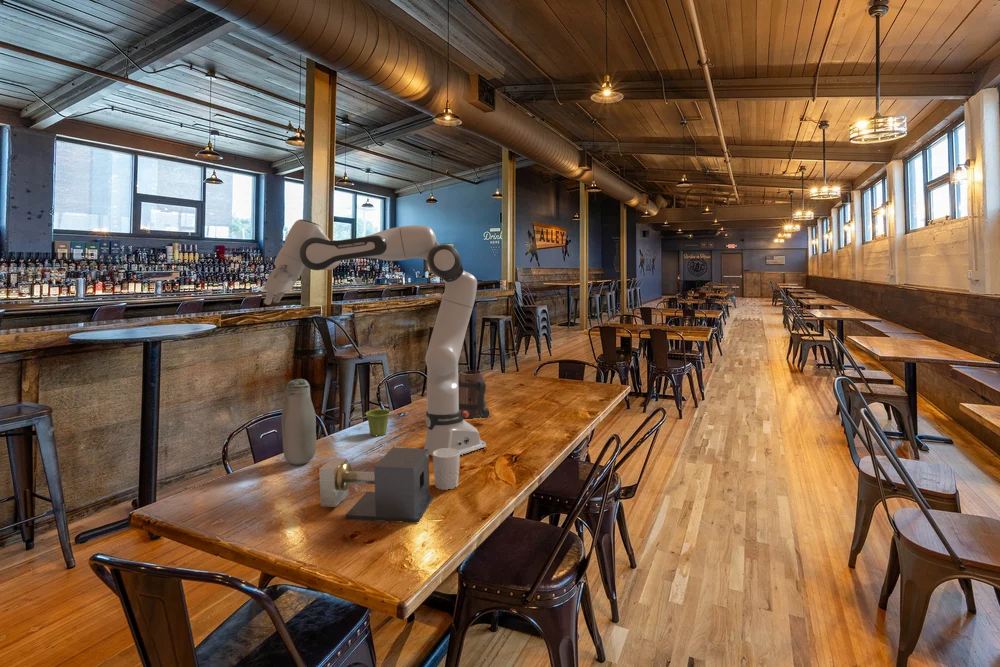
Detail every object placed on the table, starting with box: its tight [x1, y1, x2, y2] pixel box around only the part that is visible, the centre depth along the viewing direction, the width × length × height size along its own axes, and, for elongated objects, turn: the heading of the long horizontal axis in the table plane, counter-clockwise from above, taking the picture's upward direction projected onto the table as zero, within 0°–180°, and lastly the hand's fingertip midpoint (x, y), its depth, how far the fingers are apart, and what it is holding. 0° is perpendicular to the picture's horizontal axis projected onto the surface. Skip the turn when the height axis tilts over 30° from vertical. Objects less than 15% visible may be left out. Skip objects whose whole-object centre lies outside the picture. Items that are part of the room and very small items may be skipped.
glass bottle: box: [280, 378, 317, 466], centre depth 161 cm, size 10×10×28 cm
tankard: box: [458, 370, 490, 419], centre depth 215 cm, size 24×17×20 cm
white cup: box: [432, 448, 461, 491], centre depth 144 cm, size 8×8×10 cm
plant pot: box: [365, 408, 391, 437], centre depth 193 cm, size 9×9×9 cm
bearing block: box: [344, 447, 434, 523], centre depth 129 cm, size 19×14×14 cm
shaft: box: [318, 457, 375, 508], centre depth 130 cm, size 22×8×10 cm, turn 83°
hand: (271, 302), depth 163 cm, fingers open, 8 cm apart
